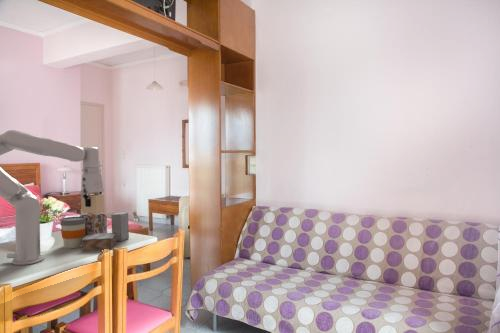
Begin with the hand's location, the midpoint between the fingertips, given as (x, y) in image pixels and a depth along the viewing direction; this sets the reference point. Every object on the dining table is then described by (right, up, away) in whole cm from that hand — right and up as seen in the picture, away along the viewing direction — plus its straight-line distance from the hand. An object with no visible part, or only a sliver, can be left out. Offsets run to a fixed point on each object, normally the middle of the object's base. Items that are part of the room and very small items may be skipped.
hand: (92, 205), depth 174 cm
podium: (0, -24, +8) cm, 25 cm away
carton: (0, -4, 0) cm, 4 cm away
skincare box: (+5, -23, +25) cm, 34 cm away
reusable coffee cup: (-16, -24, +11) cm, 31 cm away
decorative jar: (-11, -23, +24) cm, 36 cm away
